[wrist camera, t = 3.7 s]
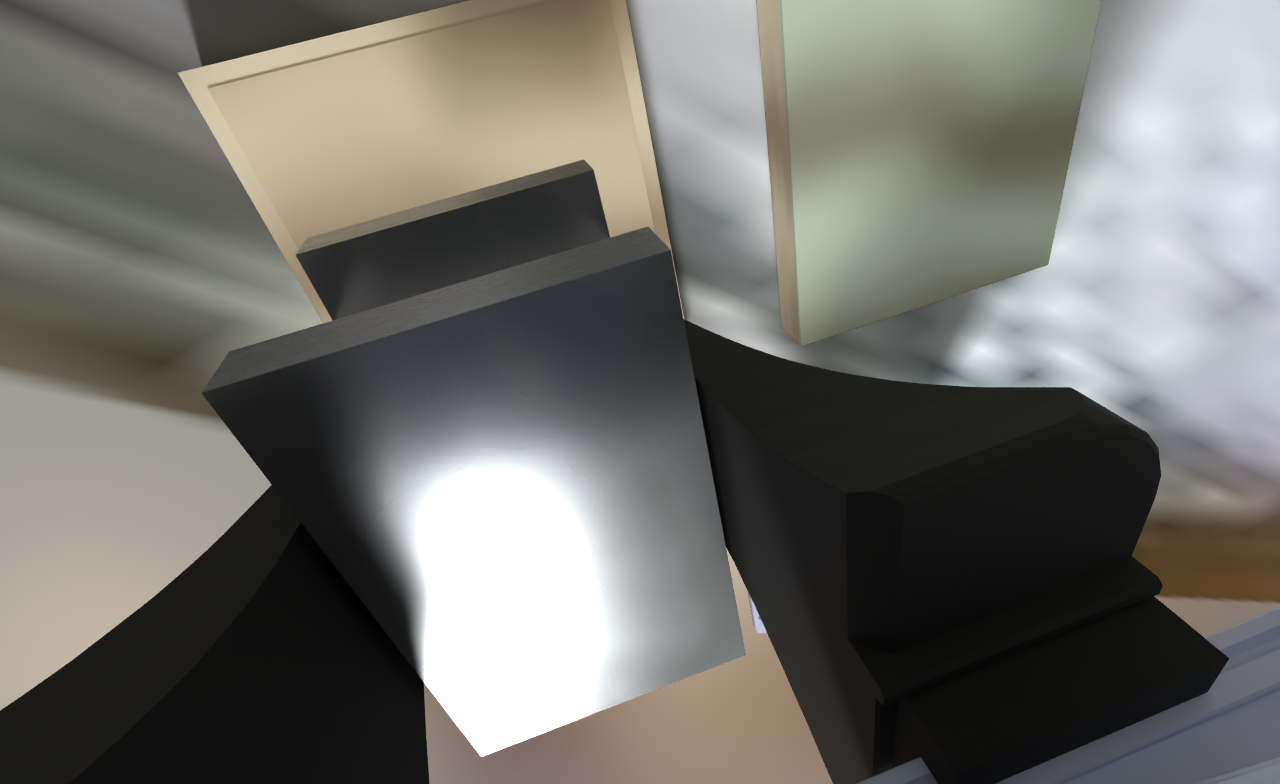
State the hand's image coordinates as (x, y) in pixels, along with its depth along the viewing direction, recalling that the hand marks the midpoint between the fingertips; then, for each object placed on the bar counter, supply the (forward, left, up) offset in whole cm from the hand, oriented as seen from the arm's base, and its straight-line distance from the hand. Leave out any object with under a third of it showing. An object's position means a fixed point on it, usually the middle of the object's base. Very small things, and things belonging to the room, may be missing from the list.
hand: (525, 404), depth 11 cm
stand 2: (0, -14, -9) cm, 17 cm away
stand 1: (0, 0, -9) cm, 9 cm away
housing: (0, 0, -1) cm, 1 cm away
